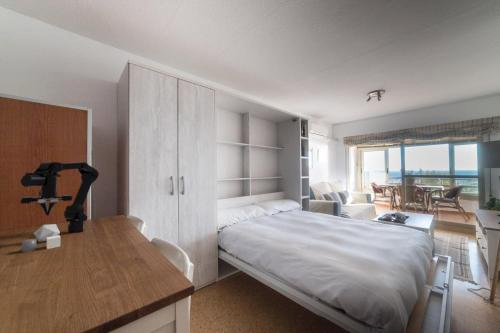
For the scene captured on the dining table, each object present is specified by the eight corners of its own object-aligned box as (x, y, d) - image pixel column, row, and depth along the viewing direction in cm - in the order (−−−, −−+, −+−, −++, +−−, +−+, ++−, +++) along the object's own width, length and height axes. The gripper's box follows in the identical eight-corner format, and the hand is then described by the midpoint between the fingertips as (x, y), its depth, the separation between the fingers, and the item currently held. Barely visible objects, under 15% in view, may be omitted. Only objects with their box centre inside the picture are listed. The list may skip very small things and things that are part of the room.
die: (35, 241, 105) (26, 229, 99) (55, 229, 112) (48, 217, 107) (46, 248, 103) (37, 236, 97) (65, 236, 110) (58, 224, 104)
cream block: (59, 244, 99) (59, 235, 99) (60, 246, 96) (60, 237, 96) (46, 246, 96) (46, 237, 96) (47, 249, 93) (47, 239, 93)
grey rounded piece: (37, 247, 94) (37, 238, 94) (34, 250, 91) (35, 240, 91) (23, 250, 91) (23, 240, 92) (20, 253, 88) (20, 242, 88)
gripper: (73, 184, 118) (72, 211, 117) (26, 185, 106) (25, 215, 106) (72, 185, 109) (71, 214, 108) (20, 186, 97) (19, 218, 97)
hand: (47, 215), depth 105 cm, fingers closed
